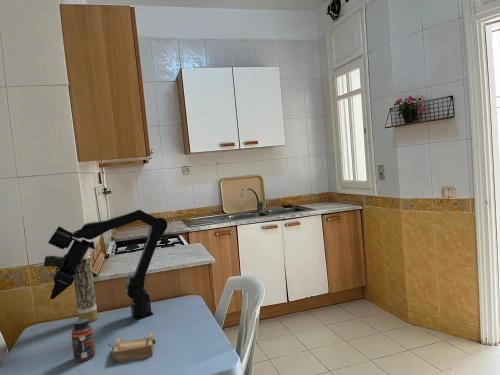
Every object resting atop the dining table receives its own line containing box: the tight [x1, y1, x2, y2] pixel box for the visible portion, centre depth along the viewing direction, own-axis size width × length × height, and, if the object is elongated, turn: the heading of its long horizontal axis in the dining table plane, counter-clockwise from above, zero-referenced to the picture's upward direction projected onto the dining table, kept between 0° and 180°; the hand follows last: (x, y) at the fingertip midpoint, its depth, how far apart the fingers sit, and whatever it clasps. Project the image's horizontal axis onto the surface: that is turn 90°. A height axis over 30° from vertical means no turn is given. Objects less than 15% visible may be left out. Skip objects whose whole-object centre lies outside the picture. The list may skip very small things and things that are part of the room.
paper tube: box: [73, 254, 98, 323], centre depth 146 cm, size 7×7×25 cm
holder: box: [111, 330, 157, 364], centre depth 115 cm, size 11×13×3 cm
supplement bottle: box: [70, 319, 96, 362], centre depth 114 cm, size 6×6×11 cm
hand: (52, 295), depth 133 cm, fingers open, 9 cm apart
